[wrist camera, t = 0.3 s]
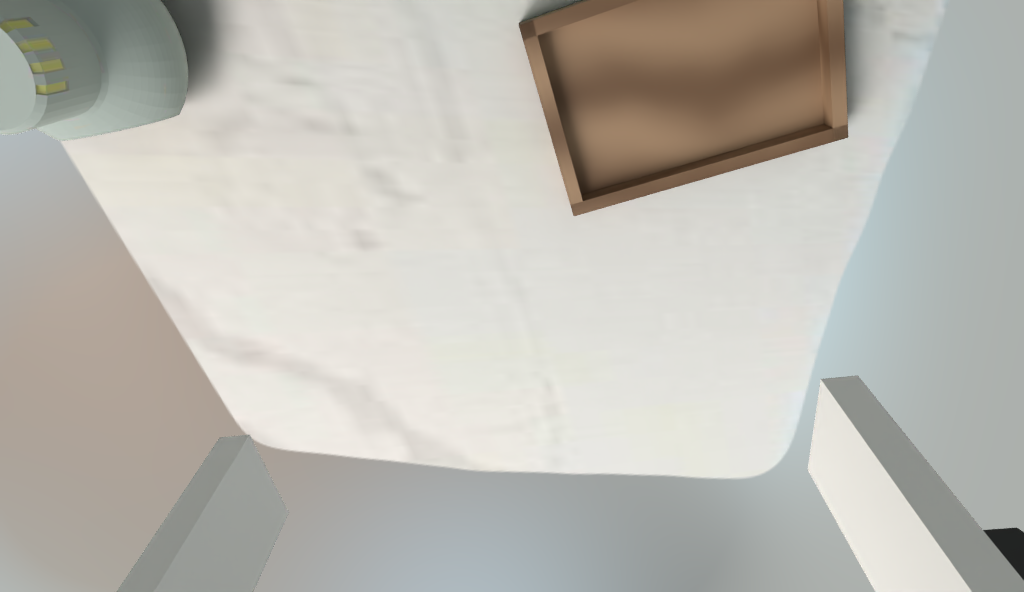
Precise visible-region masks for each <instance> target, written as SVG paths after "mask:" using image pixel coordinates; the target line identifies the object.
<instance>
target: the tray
mask: <svg viewBox="0 0 1024 592" xmlns="http://www.w3.org/2000/svg"><path fill="white" fill-rule="evenodd" d="M519 28H520V31H521V35H522V38H523V42H524V45H525V48H526V52H527V55H528V59H529V62H530V66H531V69H532V73H533V76H534V80H535V83H536V87H537V90H538V94H539V97H540V101H541V104H542V108H543V111H544V114H545V118H546V121H547V125H548V128H549V132H550V135H551V139H552V142H553V146H554V149H555V153H556V156H557V160H558V163H559V167H560V170H561V174H562V177H563V181H564V184H565V187H566V191H567V194H568V198H569V201H570V205H571V208H572V212H573V215H574V216H577V215H580V214H584V213H587V212H590V211H594V210H597V209H601V208H604V207H608V206H611V205H615V204H618V203H622V202H625V201H629V200H632V199H636V198H639V197H643V196H646V195H650V194H653V193H657V192H660V191H664V190H667V189H671V188H674V187H677V186H681V185H684V184H688V183H691V182H695V181H698V180H702V179H705V178H709V177H712V176H716V175H719V174H723V173H726V172H730V171H733V170H737V169H740V168H744V167H747V166H751V165H754V164H758V163H761V162H764V161H768V160H771V159H775V158H778V157H782V156H785V155H789V154H792V153H796V152H799V151H803V150H806V149H810V148H813V147H817V146H820V145H824V144H827V143H831V142H834V141H838V140H841V139H845V138H848V120H847V93H846V65H845V38H844V11H843V0H582V1H579V2H576V3H574V4H571V5H568V6H565V7H562V8H560V9H557V10H554V11H551V12H548V13H546V14H543V15H540V16H537V17H534V18H531V19H529V20H526V21H523V22H520V23H519Z"/></svg>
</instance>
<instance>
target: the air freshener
mask: <svg viewBox="0 0 1024 592" xmlns="http://www.w3.org/2000/svg"><path fill="white" fill-rule="evenodd" d="M187 89H188V64H187V56H186V52H185V49H184V45H183V41H182V38H181V36H180V34H179V31H178V29H177V27H176V24H175V22H174V20H173V19H172V17H171V15H170V14H169V12H168V10H167V8H166V7H165V5H164V4H163V3H162V1H161V0H0V134H3V135H11V134H19V133H22V132H26V131H29V130H32V129H37V130H39V131H41V132H43V133H45V134H47V135H49V136H51V137H52V138H54V139H56V140H59V141H65V140H73V139H80V138H86V137H91V136H97V135H102V134H107V133H111V132H116V131H121V130H125V129H130V128H134V127H138V126H142V125H146V124H150V123H154V122H158V121H161V120H165V119H168V118H171V117H174V116H177V115H179V114H180V112H181V109H182V107H183V105H184V102H185V98H186V94H187Z"/></svg>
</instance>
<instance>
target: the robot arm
mask: <svg viewBox="0 0 1024 592" xmlns="http://www.w3.org/2000/svg"><path fill="white" fill-rule="evenodd" d="M808 471H809V473H810V474H811V477H812V478H813V480H814V482H815V483H816V486H817V487H818V489H819V491H820V493H821V495H822V496H823V498H824V500H825V502H826V504H827V505H828V507H829V509H830V511H831V513H832V514H833V516H834V518H835V520H836V522H837V524H838V525H839V527H840V529H841V531H842V533H843V534H844V536H845V538H846V540H847V542H848V543H849V545H850V547H851V549H852V551H853V552H854V554H855V556H856V558H857V560H858V561H859V563H860V565H861V567H862V568H863V570H864V572H865V574H866V576H867V578H868V579H869V581H870V583H871V585H872V587H873V588H874V590H875V592H1024V532H1022V531H1021V530H1020V529H1018V528H1007V529H992V530H982V528H981V527H980V526H979V525H978V523H977V522H976V521H975V520H974V518H973V517H972V516H971V515H970V514H969V512H968V511H967V510H966V509H965V507H964V506H963V505H962V504H961V502H960V501H959V500H958V499H957V497H956V496H955V495H954V494H953V492H952V491H951V490H950V489H949V488H948V486H947V485H946V484H945V483H944V481H943V480H942V479H941V478H940V476H939V475H938V474H937V473H936V471H935V470H934V469H933V468H932V467H931V465H930V464H929V463H928V462H927V460H926V459H925V458H924V457H923V455H922V454H921V453H920V452H919V451H918V449H917V448H916V447H915V446H914V444H913V443H912V442H911V441H910V439H909V438H908V437H907V436H906V434H905V433H904V432H903V431H902V429H901V428H900V427H899V426H898V425H897V423H896V422H895V421H894V420H893V418H892V417H891V416H890V415H889V414H888V412H887V411H886V410H885V409H884V407H883V406H882V405H881V404H880V402H879V401H878V400H877V399H876V397H875V396H874V395H873V394H872V392H871V391H870V390H869V389H868V387H867V386H866V385H865V384H864V382H863V381H862V380H861V379H860V378H859V376H848V377H838V378H828V379H821V381H820V389H819V395H818V402H817V409H816V416H815V423H814V430H813V436H812V444H811V450H810V458H809V465H808ZM288 513H289V512H288V510H287V508H286V506H285V504H284V502H283V500H282V498H281V496H280V494H279V492H278V490H277V488H276V486H275V484H274V482H273V480H272V478H271V476H270V474H269V473H268V470H267V468H266V466H265V464H264V462H263V460H262V458H261V456H260V454H259V452H258V450H257V448H256V446H255V444H254V442H253V440H252V438H251V436H250V435H242V436H232V437H221V438H219V439H218V441H217V443H216V444H215V445H214V447H213V449H212V450H211V452H210V453H209V455H208V456H207V457H206V459H205V460H204V462H203V463H202V465H201V467H200V468H199V469H198V471H197V472H196V474H195V475H194V477H193V478H192V480H191V481H190V483H189V485H188V486H187V487H186V489H185V490H184V492H183V493H182V495H181V496H180V498H179V499H178V501H177V503H176V504H175V505H174V507H173V509H172V510H171V511H170V513H169V514H168V516H167V517H166V519H165V520H164V522H163V523H162V525H161V526H160V528H159V529H158V531H157V532H156V534H155V535H154V537H153V538H152V540H151V541H150V543H149V544H148V546H147V547H146V549H145V550H144V552H143V553H142V555H141V556H140V558H139V559H138V561H137V562H136V564H135V565H134V567H133V568H132V570H131V571H130V573H129V574H128V576H127V577H126V579H125V580H124V582H123V583H122V584H121V586H120V587H119V589H118V591H117V592H253V591H254V589H255V587H256V585H257V582H258V580H259V578H260V576H261V574H262V571H263V569H264V567H265V565H266V562H267V560H268V558H269V556H270V554H271V551H272V549H273V547H274V545H275V542H276V540H277V538H278V536H279V533H280V531H281V529H282V527H283V524H284V522H285V520H286V518H287V516H288Z"/></svg>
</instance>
